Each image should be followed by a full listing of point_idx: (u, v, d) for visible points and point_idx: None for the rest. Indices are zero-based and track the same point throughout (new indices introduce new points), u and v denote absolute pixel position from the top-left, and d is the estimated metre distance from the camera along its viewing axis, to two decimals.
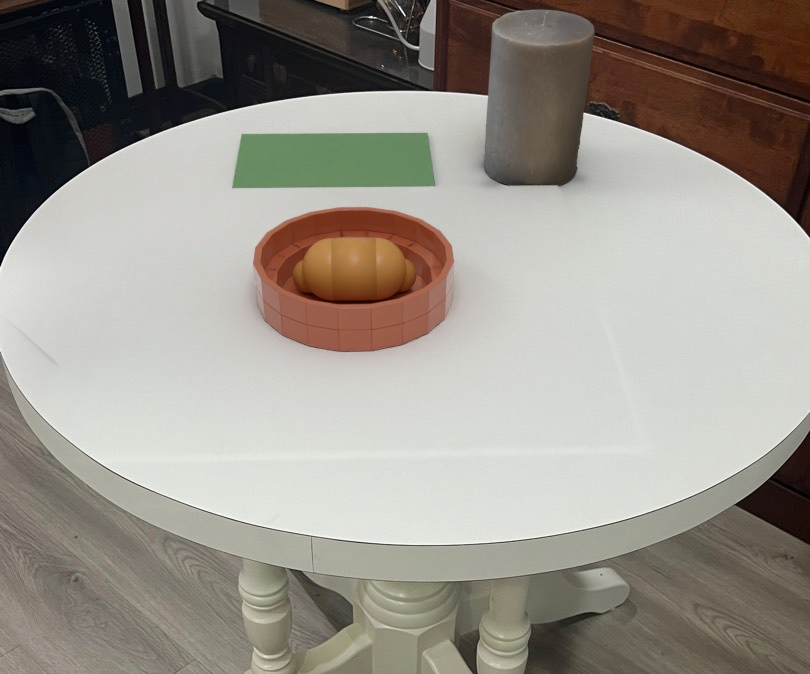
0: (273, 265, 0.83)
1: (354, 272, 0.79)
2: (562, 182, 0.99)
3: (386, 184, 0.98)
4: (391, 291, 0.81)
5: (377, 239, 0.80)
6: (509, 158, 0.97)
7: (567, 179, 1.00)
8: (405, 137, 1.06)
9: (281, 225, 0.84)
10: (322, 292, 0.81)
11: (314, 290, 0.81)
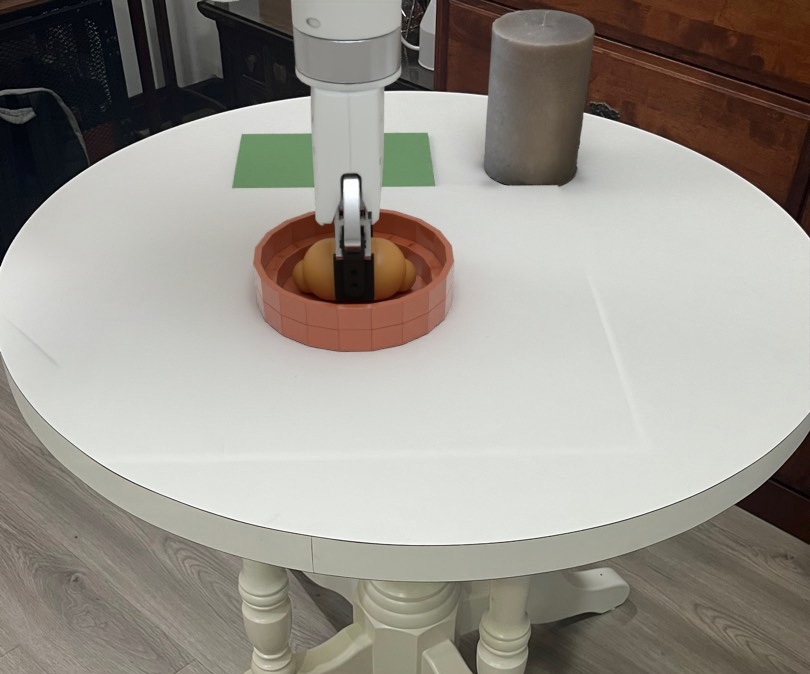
0: (273, 265, 0.83)
1: None
2: (562, 182, 0.99)
3: (386, 184, 0.98)
4: (391, 291, 0.81)
5: (377, 239, 0.80)
6: (509, 158, 0.97)
7: (567, 179, 1.00)
8: (405, 137, 1.06)
9: (281, 225, 0.84)
10: (322, 292, 0.81)
11: (314, 290, 0.81)
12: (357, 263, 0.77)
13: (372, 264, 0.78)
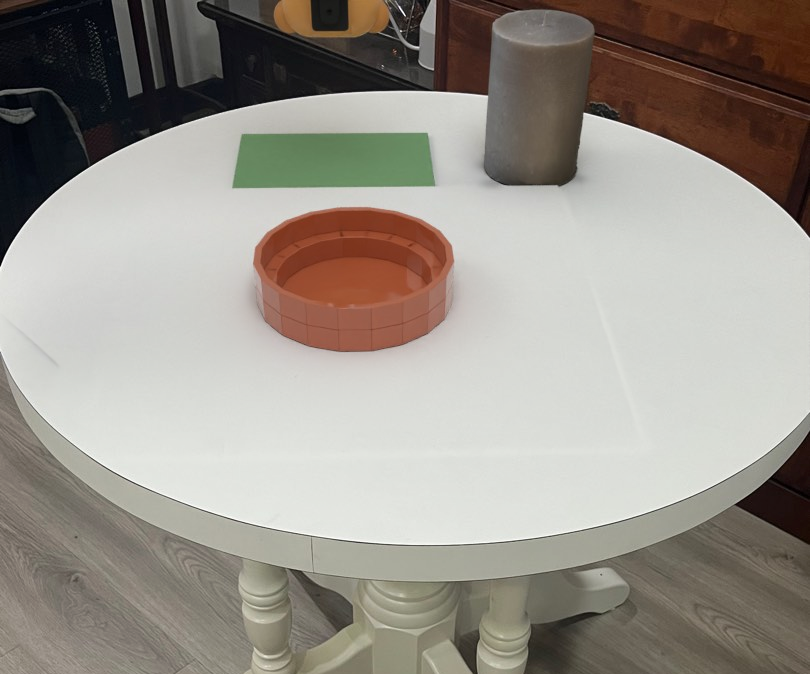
0: (273, 265, 0.83)
1: None
2: (562, 182, 0.99)
3: (386, 184, 0.98)
4: (364, 24, 0.87)
5: None
6: (509, 158, 0.97)
7: (567, 179, 1.00)
8: (405, 137, 1.06)
9: (281, 225, 0.84)
10: (301, 24, 0.87)
11: (293, 23, 0.87)
12: None
13: None
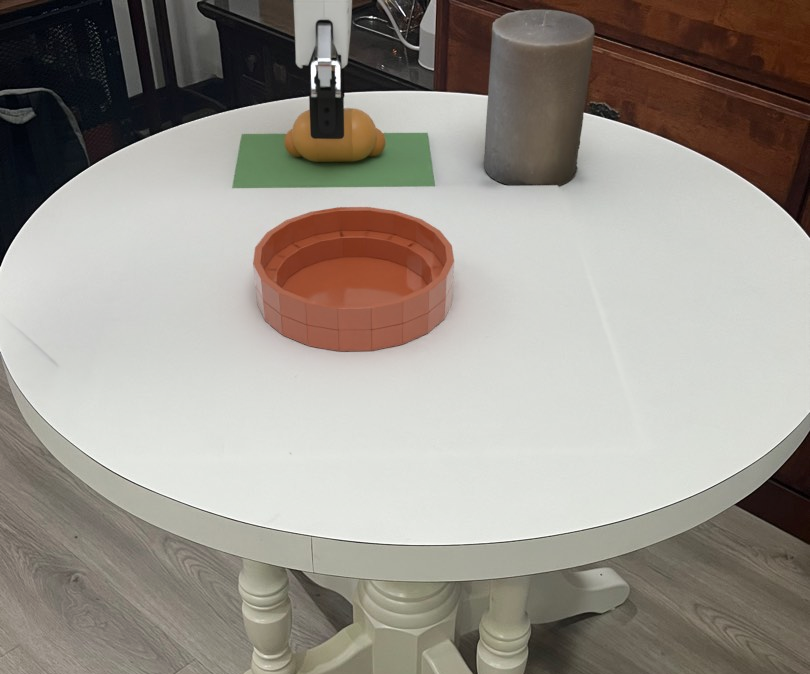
0: (273, 265, 0.83)
1: None
2: (562, 182, 0.99)
3: (386, 184, 0.98)
4: (364, 152, 1.00)
5: (353, 109, 0.99)
6: (509, 158, 0.97)
7: (567, 179, 1.00)
8: (405, 137, 1.06)
9: (281, 225, 0.84)
10: (308, 153, 1.00)
11: (302, 151, 1.00)
12: (329, 101, 0.92)
13: (341, 103, 0.93)
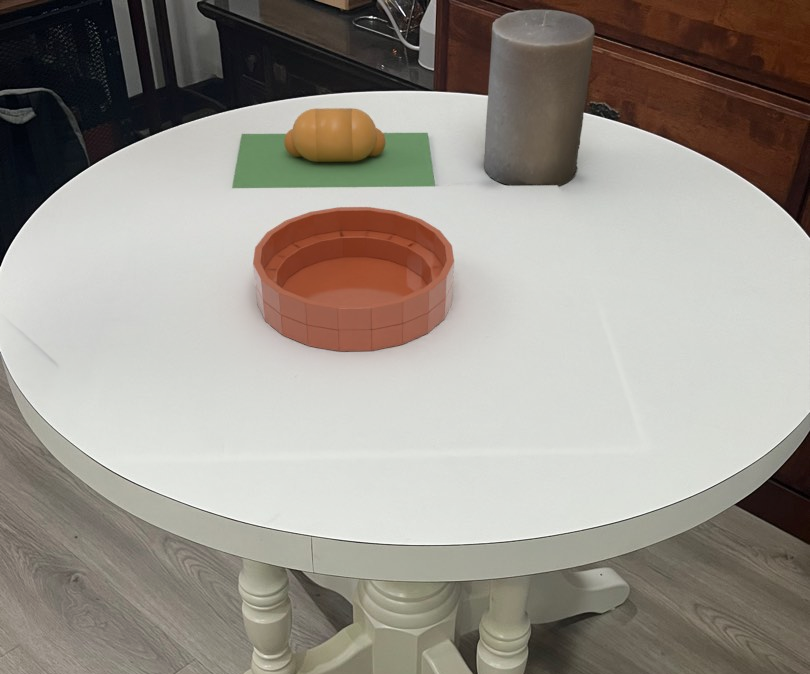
0: (273, 265, 0.83)
1: (334, 134, 0.98)
2: (562, 182, 0.99)
3: (386, 184, 0.98)
4: (364, 152, 1.00)
5: (353, 109, 0.99)
6: (509, 158, 0.97)
7: (567, 179, 1.00)
8: (405, 137, 1.06)
9: (281, 225, 0.84)
10: (308, 153, 1.00)
11: (302, 151, 1.00)
12: None
13: None
